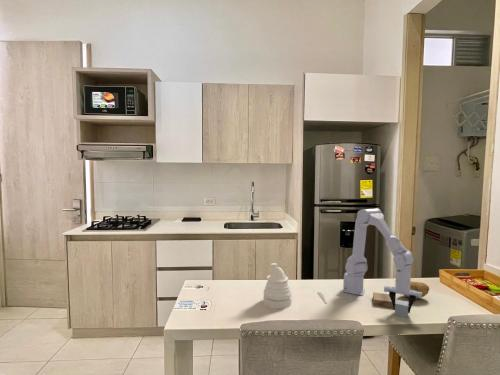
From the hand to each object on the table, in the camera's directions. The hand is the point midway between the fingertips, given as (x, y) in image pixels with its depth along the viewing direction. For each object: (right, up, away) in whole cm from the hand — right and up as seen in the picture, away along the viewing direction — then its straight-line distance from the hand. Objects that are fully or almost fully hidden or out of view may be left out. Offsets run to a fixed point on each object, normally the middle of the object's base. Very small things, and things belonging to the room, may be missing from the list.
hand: (401, 310), depth 140 cm
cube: (0, -2, 0) cm, 2 cm away
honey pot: (-53, 0, +10) cm, 53 cm away
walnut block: (-3, -1, +12) cm, 12 cm away
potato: (+14, -1, +18) cm, 22 cm away
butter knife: (-30, -1, +9) cm, 31 cm away
